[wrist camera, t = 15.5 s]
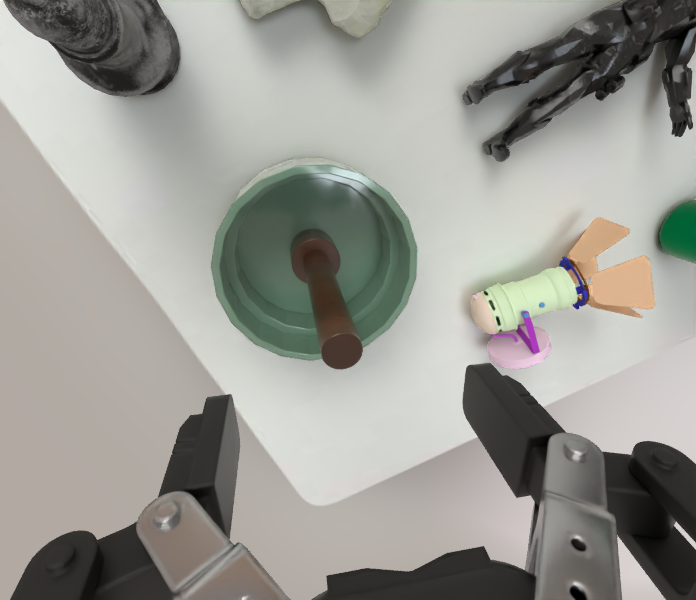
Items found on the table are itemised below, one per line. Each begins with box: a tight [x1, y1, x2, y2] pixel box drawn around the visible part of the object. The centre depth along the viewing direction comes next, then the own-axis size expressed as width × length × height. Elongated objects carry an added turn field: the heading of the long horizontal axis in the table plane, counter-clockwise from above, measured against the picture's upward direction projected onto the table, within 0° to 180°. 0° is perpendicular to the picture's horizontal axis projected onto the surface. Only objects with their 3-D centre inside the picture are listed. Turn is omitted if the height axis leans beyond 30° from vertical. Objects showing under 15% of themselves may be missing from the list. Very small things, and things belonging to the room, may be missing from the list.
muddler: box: [290, 229, 363, 369], centre depth 24 cm, size 3×3×15 cm
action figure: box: [462, 0, 696, 162], centre depth 27 cm, size 16×4×20 cm
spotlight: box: [471, 218, 655, 369], centre depth 33 cm, size 12×8×8 cm
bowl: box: [211, 157, 417, 360], centre depth 28 cm, size 13×13×6 cm
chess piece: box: [3, 0, 180, 97], centre depth 19 cm, size 6×6×12 cm
